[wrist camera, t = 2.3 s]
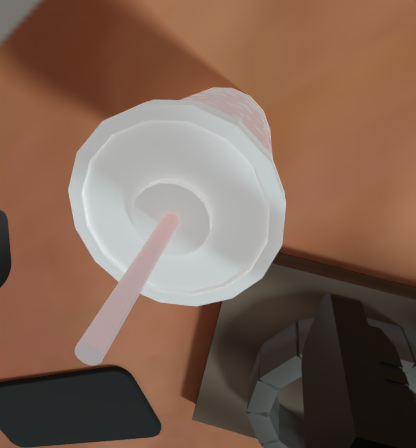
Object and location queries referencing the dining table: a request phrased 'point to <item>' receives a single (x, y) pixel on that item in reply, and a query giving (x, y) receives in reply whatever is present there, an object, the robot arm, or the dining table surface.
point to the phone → (76, 408)
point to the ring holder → (288, 346)
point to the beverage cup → (177, 204)
